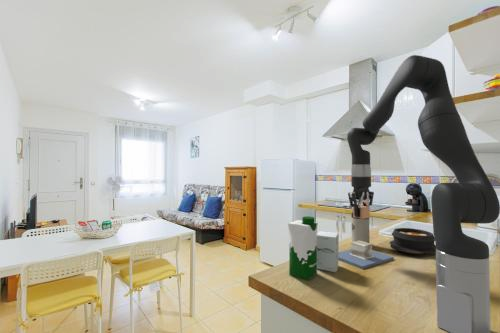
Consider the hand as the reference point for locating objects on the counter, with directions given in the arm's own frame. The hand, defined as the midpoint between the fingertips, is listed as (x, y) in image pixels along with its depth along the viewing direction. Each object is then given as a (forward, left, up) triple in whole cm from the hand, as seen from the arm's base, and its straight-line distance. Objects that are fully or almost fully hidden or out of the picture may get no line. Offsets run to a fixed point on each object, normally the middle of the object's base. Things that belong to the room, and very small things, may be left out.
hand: (361, 216), depth 100 cm
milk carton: (-32, 0, -17) cm, 37 cm away
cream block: (0, 0, -16) cm, 16 cm away
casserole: (+30, -5, -18) cm, 35 cm away
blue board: (0, 0, -17) cm, 17 cm away
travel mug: (+16, +12, -17) cm, 27 cm away
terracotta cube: (0, 0, 0) cm, 0 cm away
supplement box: (-20, 0, -17) cm, 27 cm away
